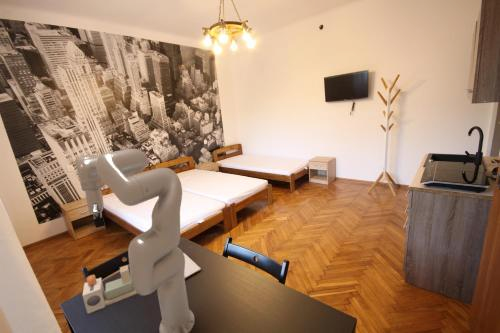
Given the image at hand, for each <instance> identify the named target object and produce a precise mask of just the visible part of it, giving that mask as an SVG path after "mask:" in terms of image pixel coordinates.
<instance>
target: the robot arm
mask: <svg viewBox="0 0 500 333" xmlns="http://www.w3.org/2000/svg"><path fill="white" fill-rule="evenodd" d="M74 162H75V167H76V170H77V174H78V179H79V182H80V187H81V191H83V192H84V193H85V197H86V198H85V200H86V204H87V208H88V214H89V215H93V222H94V225H95V228H100V227H102V228H103V227H104V226H105V220H104V218H105V217H106V212H105V208H104V198H103V192H102V188H104V184H105V185H106V186H107V187H108V189H110V190H111V192H112V193H113V195H115V197H116V198H117V199H118V200H119V202H121V203H122V204H124V205H125V206H128V207H129V206H130V207H132V206H134V207H135V206H137V205H140V204H142V203H144V202H147V201H149V200H153V199H155V198H157V197H158V198H157V201H156V202H155V204H154V207H153V208H152V211H151V226H150V228H149V229H148V230H146V231H145V232H142V233H140V234H139V235H136V236H135V237H134V238H133V239H132V240H130V242H129V245H128V248H127V251H128V252H127V253H128V254H127V255H128V264H129V265H128V267H129V274H130V275H131V282H132V285H133V287H134V289H135V291H136V292H137V295H139V296H147V295H150V294H152V293H153V292H155V291H156V290H157V291H156V292H157V298H158V304H159V309H160V310H159V311H160V316H161V320H160V324H159V329H158V330H159V333H191V331H192V329H193V328H194V326H195V315H194V312H193V311H192V310H191V309H190V308H189V301H188V294H187V287H186V286H187V284H186V278H185V276H184V270H185V257H184V254H183V253H184V251H183V250H182V249H181V248H180V247H178V246H179V244H180V243H181V205H182V199H183V186H182V183H181V180H180V178H179V175H178V174H177V173H176V172H175V171H174V170H173V169H171V168H168V167H159V168H154V169H153V168H152V169H150V170H147V171H144V170H145V169H146V168H147V166H148V163H149V159H148V156H147V154H146V153H145V152H144V151H142V150H140V149H137V148H126V149H122V150H121V149H120V150H115V151H109V152H105V153H102V154H101V155H95V154H87V155H81V156H78V157H76V158H75V159H74Z"/></svg>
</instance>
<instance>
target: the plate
mask: <svg viewBox="0 0 500 333" xmlns="http://www.w3.org/2000/svg"><path fill="white" fill-rule="evenodd" d="M183 254H184V257H185V270H184V276H185V279H186V278H188V277H190V276H191V275H192V276H193V275H194V274H195V273H198V272H199V271H201V269H202V268H201V267H200V266H199V265H198V264H197V263H196V262H195V261H194V260H192V259H191V258H190V257H189V255H187V254H186V253H185V252H183Z"/></svg>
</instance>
